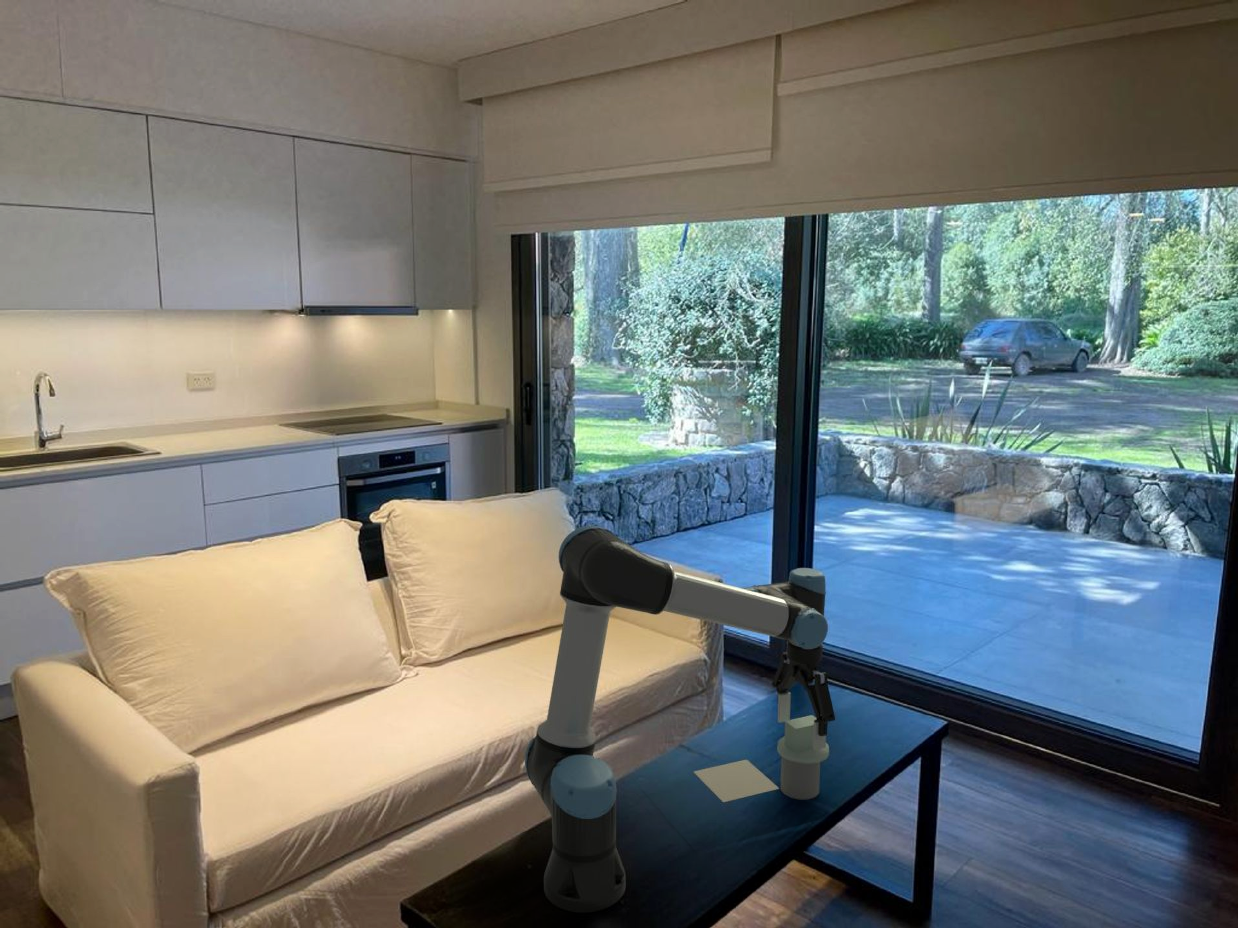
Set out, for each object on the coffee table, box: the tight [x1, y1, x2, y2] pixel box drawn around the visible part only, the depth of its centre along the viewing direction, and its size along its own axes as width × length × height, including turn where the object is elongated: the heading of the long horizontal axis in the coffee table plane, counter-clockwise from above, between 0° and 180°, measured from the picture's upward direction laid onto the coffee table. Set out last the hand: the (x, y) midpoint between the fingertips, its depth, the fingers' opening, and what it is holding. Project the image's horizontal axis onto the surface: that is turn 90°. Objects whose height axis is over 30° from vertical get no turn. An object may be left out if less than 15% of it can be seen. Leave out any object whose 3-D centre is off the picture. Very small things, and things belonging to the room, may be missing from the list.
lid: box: [777, 714, 830, 764], centre depth 201 cm, size 11×11×7 cm
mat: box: [693, 759, 780, 803], centre depth 208 cm, size 14×14×1 cm
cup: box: [780, 756, 821, 800], centre depth 203 cm, size 8×8×10 cm
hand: (800, 734), depth 202 cm, fingers open, 13 cm apart
